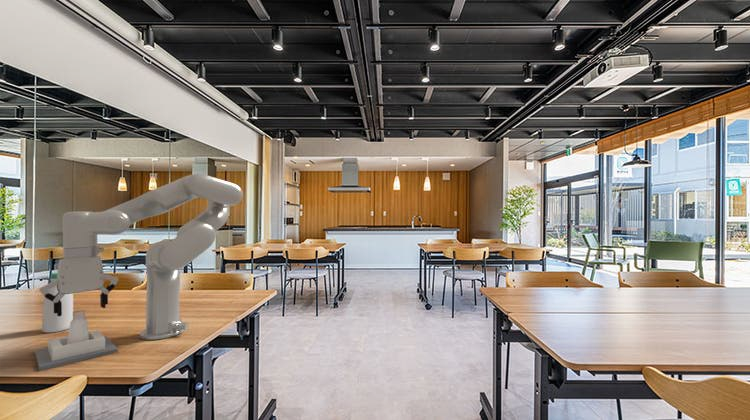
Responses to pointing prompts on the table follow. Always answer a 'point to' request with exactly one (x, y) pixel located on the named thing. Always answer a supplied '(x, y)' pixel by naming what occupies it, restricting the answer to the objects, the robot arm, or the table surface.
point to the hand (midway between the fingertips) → (82, 311)
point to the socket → (73, 350)
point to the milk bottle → (52, 320)
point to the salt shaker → (78, 328)
